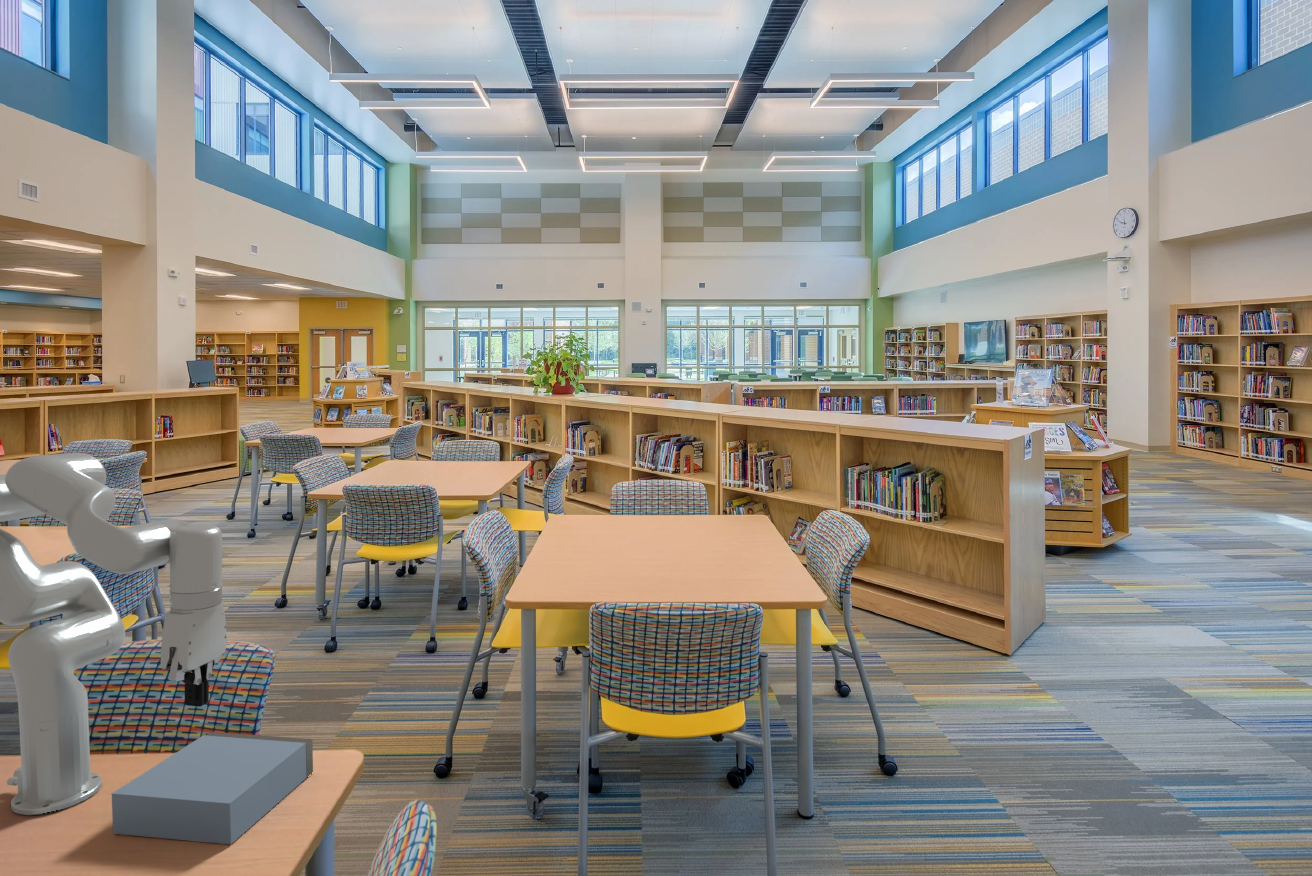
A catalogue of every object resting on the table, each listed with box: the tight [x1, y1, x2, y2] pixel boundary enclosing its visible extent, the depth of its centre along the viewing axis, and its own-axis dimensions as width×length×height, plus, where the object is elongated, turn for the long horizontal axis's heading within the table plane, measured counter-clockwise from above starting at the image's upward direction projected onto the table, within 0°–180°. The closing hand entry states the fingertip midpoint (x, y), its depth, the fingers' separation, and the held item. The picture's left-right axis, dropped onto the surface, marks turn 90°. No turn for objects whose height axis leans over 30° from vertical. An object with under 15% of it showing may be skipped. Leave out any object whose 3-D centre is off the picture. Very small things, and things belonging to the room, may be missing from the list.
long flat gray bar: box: [205, 731, 314, 777], centre depth 140 cm, size 21×2×7 cm, turn 83°
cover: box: [111, 734, 307, 845], centre depth 129 cm, size 21×20×7 cm
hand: (196, 703), depth 125 cm, fingers closed
